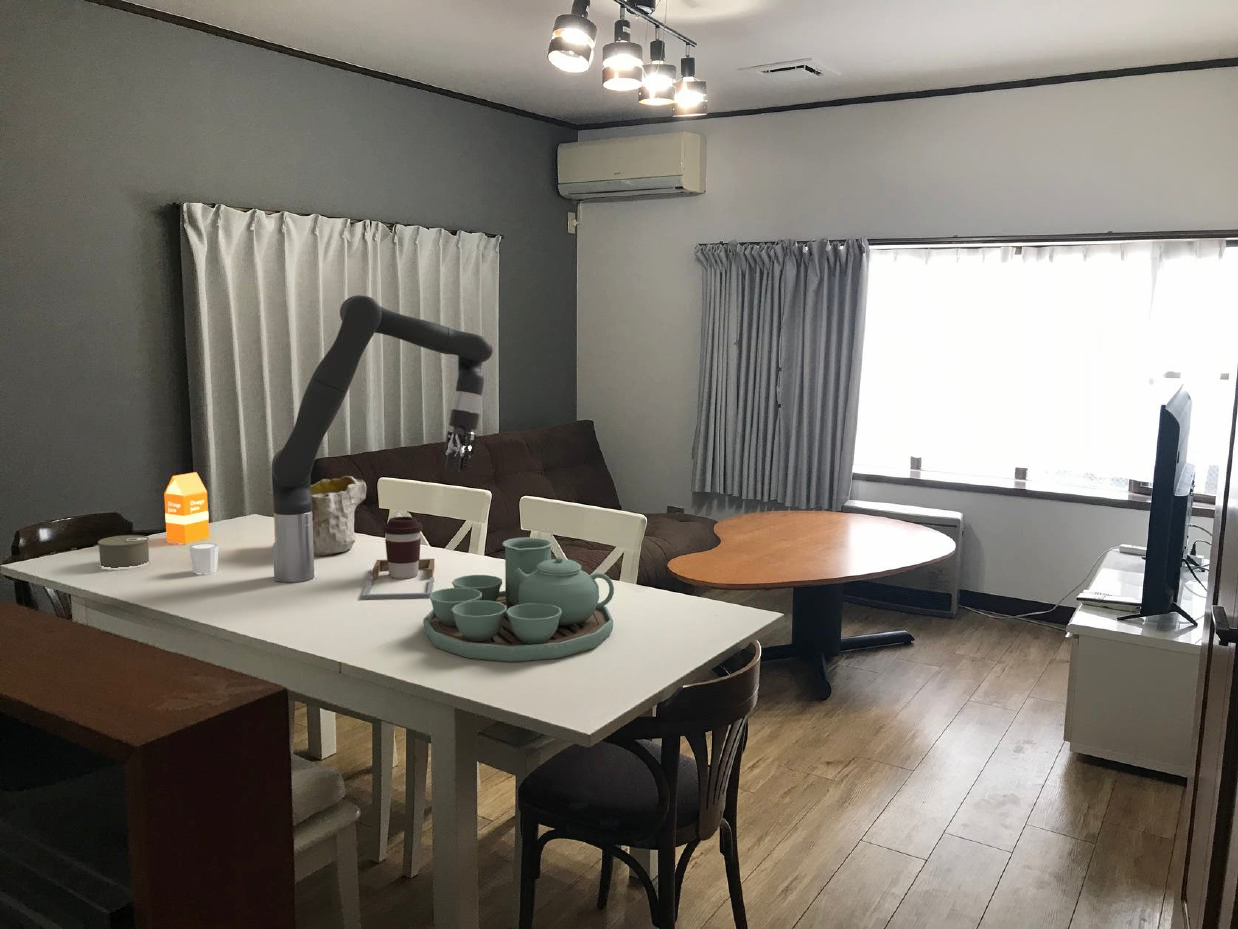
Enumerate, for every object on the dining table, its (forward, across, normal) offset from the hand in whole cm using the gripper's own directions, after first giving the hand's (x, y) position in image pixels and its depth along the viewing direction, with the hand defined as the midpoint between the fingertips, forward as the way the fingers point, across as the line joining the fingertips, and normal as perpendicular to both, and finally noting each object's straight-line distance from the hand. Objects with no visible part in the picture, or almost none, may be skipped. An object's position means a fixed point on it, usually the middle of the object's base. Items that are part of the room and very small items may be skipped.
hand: (455, 470), depth 254 cm
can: (+39, -48, -68) cm, 92 cm away
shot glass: (+37, -29, -51) cm, 70 cm away
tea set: (+33, +55, -4) cm, 64 cm away
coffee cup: (+29, 0, -9) cm, 31 cm away
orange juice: (+33, -70, -49) cm, 92 cm away
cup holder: (+29, -2, -9) cm, 30 cm away
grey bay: (+31, +12, -15) cm, 36 cm away
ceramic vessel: (+29, -39, -20) cm, 53 cm away
